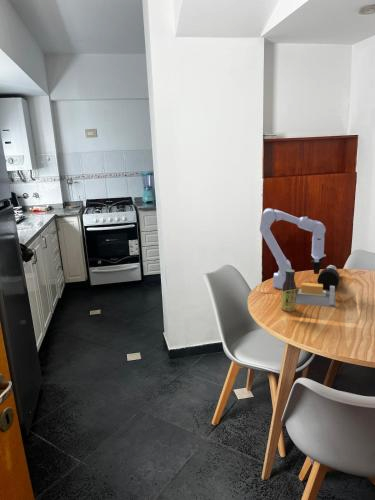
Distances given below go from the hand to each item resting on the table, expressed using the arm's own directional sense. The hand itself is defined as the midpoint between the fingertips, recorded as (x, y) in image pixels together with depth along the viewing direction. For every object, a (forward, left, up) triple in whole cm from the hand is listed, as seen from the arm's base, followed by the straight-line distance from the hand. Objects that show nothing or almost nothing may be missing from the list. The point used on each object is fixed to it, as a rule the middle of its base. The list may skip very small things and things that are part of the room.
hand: (316, 271), depth 189 cm
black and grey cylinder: (+6, +15, -11) cm, 20 cm away
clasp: (+7, -17, -8) cm, 21 cm away
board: (0, -13, -10) cm, 17 cm away
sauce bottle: (-11, -30, -10) cm, 34 cm away
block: (-2, -7, -9) cm, 12 cm away
